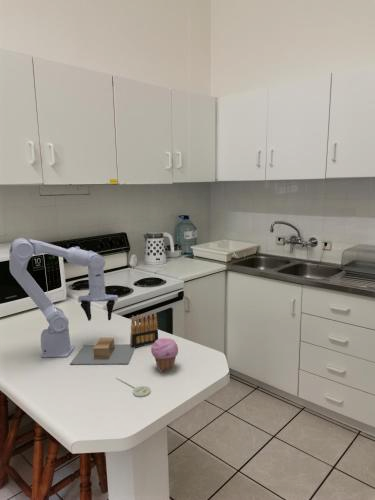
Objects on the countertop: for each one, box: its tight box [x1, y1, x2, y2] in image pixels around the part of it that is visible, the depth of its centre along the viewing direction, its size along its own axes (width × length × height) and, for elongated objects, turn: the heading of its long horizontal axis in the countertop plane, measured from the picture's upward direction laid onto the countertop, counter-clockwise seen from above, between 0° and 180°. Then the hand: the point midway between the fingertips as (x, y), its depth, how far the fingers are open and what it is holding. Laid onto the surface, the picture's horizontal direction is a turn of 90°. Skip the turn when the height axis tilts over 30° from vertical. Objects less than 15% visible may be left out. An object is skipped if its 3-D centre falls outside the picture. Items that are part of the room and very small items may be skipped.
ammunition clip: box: [129, 311, 159, 348], centre depth 140 cm, size 11×2×12 cm, turn 119°
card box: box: [93, 337, 115, 359], centre depth 134 cm, size 9×5×4 cm, turn 177°
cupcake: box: [150, 337, 179, 372], centre depth 122 cm, size 9×9×10 cm
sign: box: [115, 377, 152, 398], centre depth 113 cm, size 5×1×15 cm
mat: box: [69, 343, 136, 366], centre depth 134 cm, size 20×15×1 cm
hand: (99, 319), depth 142 cm, fingers open, 7 cm apart
